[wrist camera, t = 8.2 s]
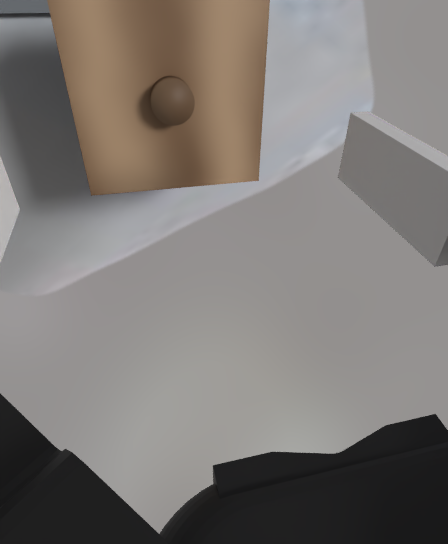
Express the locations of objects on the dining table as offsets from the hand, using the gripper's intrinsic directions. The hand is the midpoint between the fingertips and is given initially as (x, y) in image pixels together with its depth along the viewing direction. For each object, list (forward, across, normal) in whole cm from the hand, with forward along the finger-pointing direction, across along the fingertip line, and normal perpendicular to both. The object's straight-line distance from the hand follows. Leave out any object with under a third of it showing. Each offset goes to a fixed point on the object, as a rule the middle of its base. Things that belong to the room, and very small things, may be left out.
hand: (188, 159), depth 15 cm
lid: (+13, 0, 0) cm, 13 cm away
